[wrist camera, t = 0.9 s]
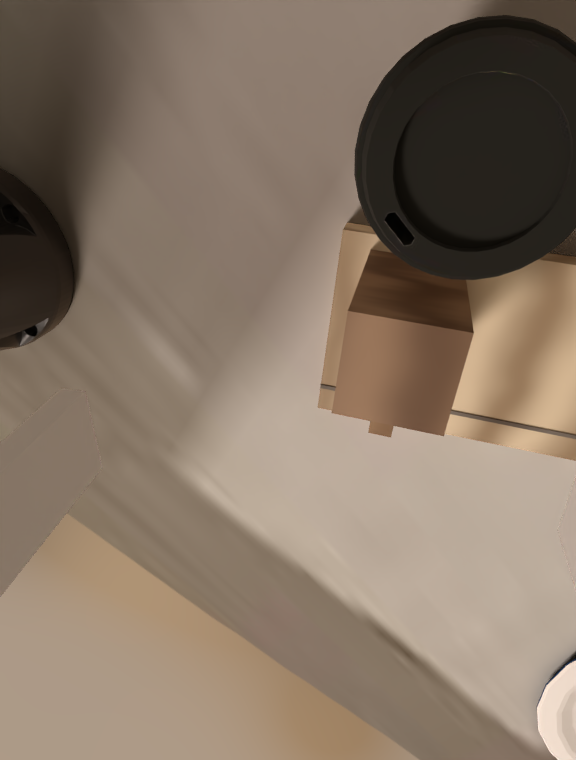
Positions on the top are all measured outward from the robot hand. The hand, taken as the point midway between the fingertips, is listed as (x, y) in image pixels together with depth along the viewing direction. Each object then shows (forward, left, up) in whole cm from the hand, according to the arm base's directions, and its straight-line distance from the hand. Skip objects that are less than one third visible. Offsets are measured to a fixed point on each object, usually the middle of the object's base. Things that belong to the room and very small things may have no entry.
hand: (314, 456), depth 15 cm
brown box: (+2, -7, -24) cm, 25 cm away
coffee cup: (+3, +6, -26) cm, 27 cm away
